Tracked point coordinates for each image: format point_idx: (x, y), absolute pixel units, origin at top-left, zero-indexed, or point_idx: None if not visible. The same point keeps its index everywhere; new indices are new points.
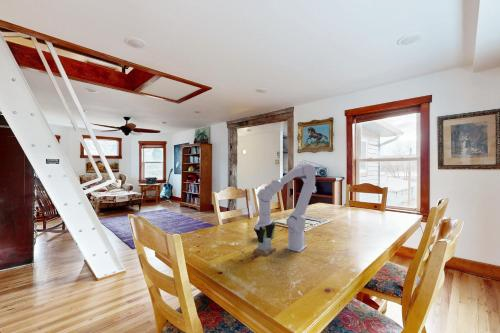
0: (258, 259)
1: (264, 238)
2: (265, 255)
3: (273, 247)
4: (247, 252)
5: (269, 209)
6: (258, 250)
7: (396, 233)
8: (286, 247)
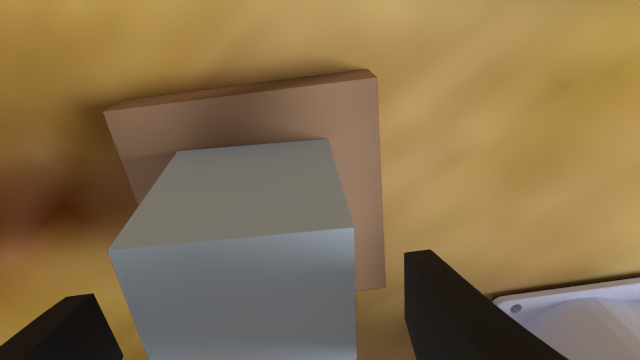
0: (39, 280)
1: (260, 318)
2: None
3: (382, 261)
4: (29, 27)
5: None
6: (145, 190)
7: None
8: (517, 302)
